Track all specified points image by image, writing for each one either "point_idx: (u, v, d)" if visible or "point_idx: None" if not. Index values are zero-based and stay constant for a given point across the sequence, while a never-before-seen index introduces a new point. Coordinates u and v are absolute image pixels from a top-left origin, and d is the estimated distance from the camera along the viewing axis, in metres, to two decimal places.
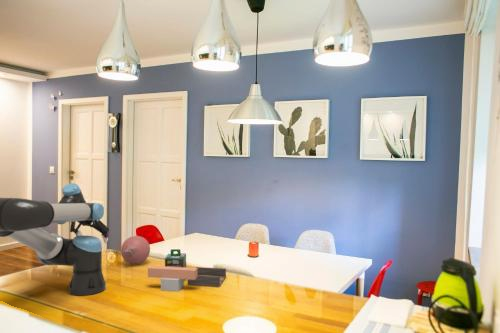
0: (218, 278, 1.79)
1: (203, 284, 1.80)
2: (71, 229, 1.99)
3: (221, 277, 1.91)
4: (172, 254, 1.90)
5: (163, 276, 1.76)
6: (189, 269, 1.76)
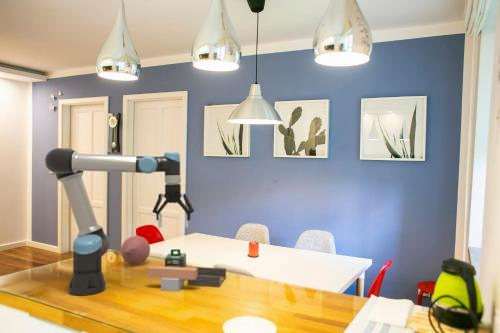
0: (218, 278, 1.79)
1: (203, 284, 1.80)
2: (154, 208, 1.92)
3: (221, 277, 1.91)
4: (172, 254, 1.90)
5: (163, 276, 1.76)
6: (189, 269, 1.76)
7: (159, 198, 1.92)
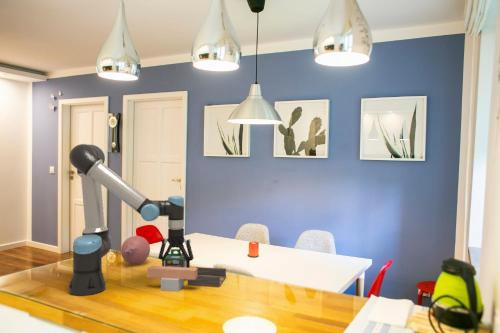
0: (218, 278, 1.79)
1: (203, 284, 1.80)
2: (160, 254, 1.91)
3: (221, 277, 1.91)
4: (172, 254, 1.90)
5: (163, 276, 1.76)
6: (189, 269, 1.76)
7: (163, 243, 1.90)
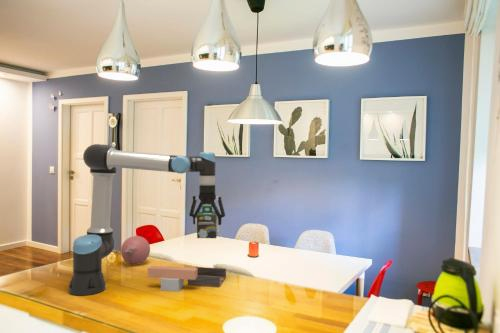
0: (218, 278, 1.79)
1: (203, 284, 1.80)
2: (191, 211, 1.87)
3: (221, 277, 1.91)
4: (204, 211, 1.86)
5: (163, 276, 1.76)
6: (189, 269, 1.76)
7: (194, 200, 1.86)
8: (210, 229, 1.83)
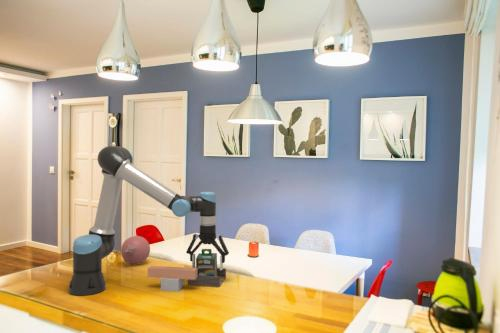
0: (218, 278, 1.79)
1: (203, 284, 1.80)
2: (188, 249, 1.87)
3: (221, 277, 1.91)
4: (203, 254, 1.87)
5: (163, 276, 1.76)
6: (189, 269, 1.76)
7: (193, 239, 1.87)
8: (209, 273, 1.83)
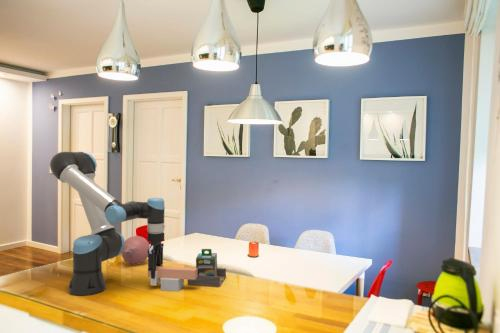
0: (218, 278, 1.79)
1: (203, 284, 1.80)
2: None
3: (221, 277, 1.91)
4: (203, 254, 1.87)
5: (163, 276, 1.76)
6: (189, 269, 1.76)
7: None
8: (209, 273, 1.83)
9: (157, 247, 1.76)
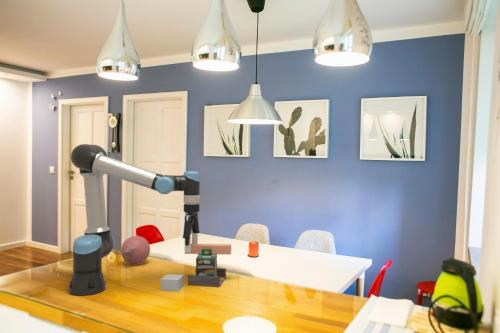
0: (218, 278, 1.79)
1: (203, 284, 1.80)
2: None
3: (221, 277, 1.91)
4: (203, 254, 1.87)
5: (200, 245, 1.89)
6: None
7: None
8: (209, 273, 1.83)
9: (193, 217, 1.86)
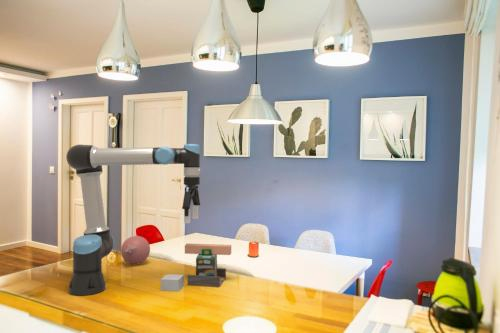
0: (218, 278, 1.79)
1: (203, 284, 1.80)
2: None
3: (221, 277, 1.91)
4: (203, 254, 1.87)
5: (200, 245, 1.89)
6: None
7: None
8: (209, 273, 1.83)
9: (193, 189, 1.86)
